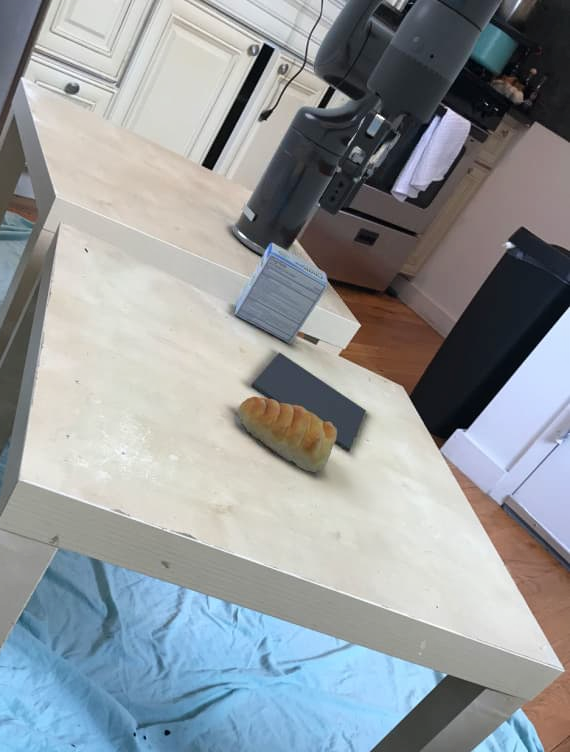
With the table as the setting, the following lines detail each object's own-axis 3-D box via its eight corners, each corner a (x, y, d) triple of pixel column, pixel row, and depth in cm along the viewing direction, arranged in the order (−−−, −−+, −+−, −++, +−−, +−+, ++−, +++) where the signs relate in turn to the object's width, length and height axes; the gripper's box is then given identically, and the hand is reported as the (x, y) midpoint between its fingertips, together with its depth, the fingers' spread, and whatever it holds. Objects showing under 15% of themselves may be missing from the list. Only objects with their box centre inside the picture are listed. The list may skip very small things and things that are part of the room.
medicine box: (289, 332, 94) (327, 272, 90) (290, 346, 90) (329, 285, 86) (235, 302, 92) (270, 240, 88) (233, 315, 89) (270, 251, 84)
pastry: (231, 433, 66) (252, 400, 64) (235, 400, 72) (255, 368, 70) (320, 480, 68) (344, 449, 66) (318, 444, 74) (340, 414, 72)
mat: (277, 355, 86) (279, 352, 86) (364, 413, 86) (366, 410, 86) (250, 385, 76) (252, 382, 76) (348, 452, 76) (350, 449, 75)
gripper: (452, 76, 69) (352, 233, 77) (456, 84, 81) (369, 219, 89) (384, 32, 69) (291, 193, 77) (398, 47, 81) (317, 185, 89)
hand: (333, 207), depth 83 cm, fingers open, 8 cm apart
